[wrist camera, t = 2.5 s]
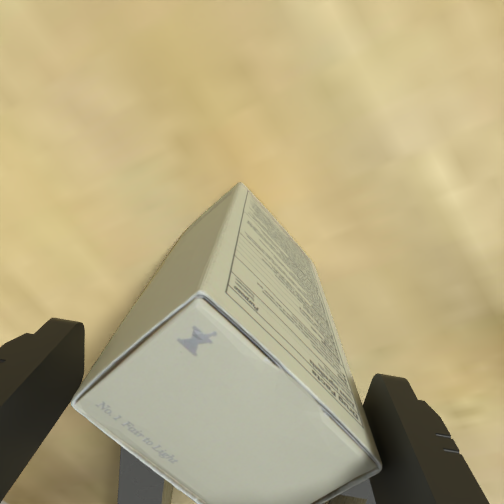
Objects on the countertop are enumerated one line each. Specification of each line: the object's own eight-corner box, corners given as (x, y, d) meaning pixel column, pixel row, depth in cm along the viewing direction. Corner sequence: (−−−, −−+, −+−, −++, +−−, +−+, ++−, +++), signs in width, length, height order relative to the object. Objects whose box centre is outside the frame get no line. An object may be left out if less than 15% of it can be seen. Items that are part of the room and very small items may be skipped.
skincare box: (181, 232, 19) (49, 400, 8) (243, 176, 18) (194, 279, 7) (260, 313, 21) (244, 552, 9) (322, 266, 20) (392, 475, 8)
